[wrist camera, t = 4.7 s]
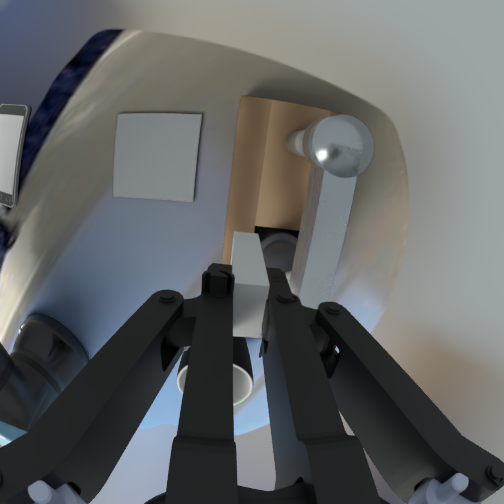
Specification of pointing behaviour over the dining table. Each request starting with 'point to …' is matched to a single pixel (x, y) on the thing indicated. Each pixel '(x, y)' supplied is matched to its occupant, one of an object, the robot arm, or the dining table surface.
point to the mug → (240, 370)
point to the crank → (327, 202)
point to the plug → (278, 249)
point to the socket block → (268, 167)
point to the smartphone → (11, 149)
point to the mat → (156, 156)
